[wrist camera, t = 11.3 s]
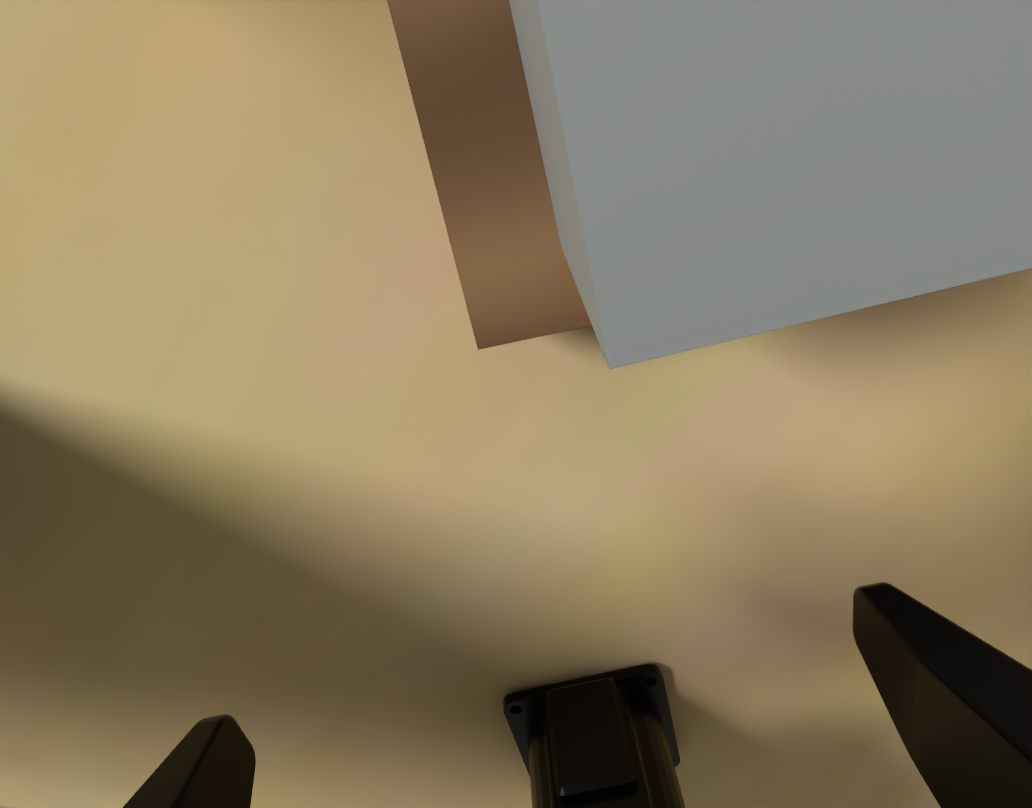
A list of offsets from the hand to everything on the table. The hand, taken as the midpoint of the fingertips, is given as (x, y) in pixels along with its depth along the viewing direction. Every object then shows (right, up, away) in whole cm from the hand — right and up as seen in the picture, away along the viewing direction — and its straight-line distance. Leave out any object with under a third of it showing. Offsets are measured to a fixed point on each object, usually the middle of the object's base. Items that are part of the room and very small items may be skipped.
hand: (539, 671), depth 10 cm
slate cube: (+3, +10, +4) cm, 11 cm away
